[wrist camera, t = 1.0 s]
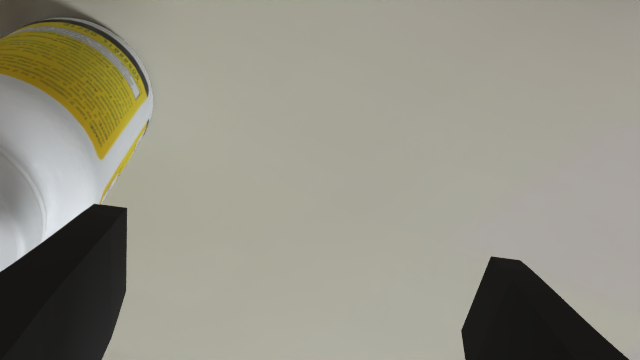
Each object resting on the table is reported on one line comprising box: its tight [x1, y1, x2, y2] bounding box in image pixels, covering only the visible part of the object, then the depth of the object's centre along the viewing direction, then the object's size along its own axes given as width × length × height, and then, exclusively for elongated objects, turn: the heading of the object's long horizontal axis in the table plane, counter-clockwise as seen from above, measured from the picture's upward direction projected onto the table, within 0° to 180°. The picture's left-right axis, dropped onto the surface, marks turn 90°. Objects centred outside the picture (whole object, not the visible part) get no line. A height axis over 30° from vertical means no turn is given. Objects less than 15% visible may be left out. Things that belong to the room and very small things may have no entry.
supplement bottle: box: [0, 18, 153, 272], centre depth 17 cm, size 5×5×10 cm
